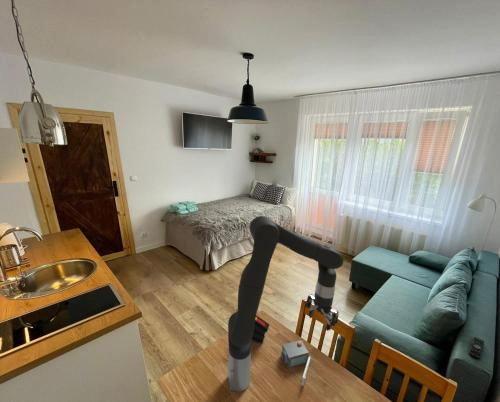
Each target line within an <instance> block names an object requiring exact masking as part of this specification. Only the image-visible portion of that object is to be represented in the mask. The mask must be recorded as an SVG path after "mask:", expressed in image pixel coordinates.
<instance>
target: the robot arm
mask: <svg viewBox="0 0 500 402" xmlns="http://www.w3.org/2000/svg"><path fill="white" fill-rule="evenodd" d="M249 232H250V235H251V236H252V239H253V247H252V252H251V257H250V259H249V261H248V263H247V264H246V265H245V267H244V269H243V270H242V272H241V275H240V279H239V284H238V290H237V311H235V312H233V313H232V314H231V315H230V317H229V318H228V322H227V333H228V334H227V337H228V340H227V341H228V360H227V380H228V384H229V385H228V386H229V389H230V391H235V392H238V393H240V392H243V391H246V390H247V389H248V388H249V386H250V384H251V365H252V364H251V360H252V357H251V356H252V340H251V339H252V337H253V333H254V325H255V318H256V315H257V314H258V310H259V308H260V307H259V305H260V302H261V299H262V296H263V291H264V288H265V285H266V280H267V276H268V272H269V268H270V263H271V260H272V258H273V256H274V255H273V254H274V253H275V249H276V248H277V244H280V245H282V246H284V247H286V248H287V249H289V250H291V251H292V252H294V253H296V254H298V255H300V256H303V257H305V258H307V259H310V260H313V261H315V262H316V263H317V267H318V273H317V274H318V275H317V279H316V280H317V281H316V284H315V291H314V294H313V293H310V295H308V296H307V298H306V303H305V306H306V308H308V313H309V314H308V317H309V318H310V319H312V318H313V317H314V315H315V310H316V311H317V312H319V313H320V314H321V315H323V318H324V320H326V322H327V323H326V327H325V330H326V331H327V332H329V331H330V330H332V327H335V326H336V325H337V324H338V321H339V310H334V309H333V308H332V306H333V302H334V297H335V291H336V281H337V272H336V270H337V269H340V268H341V267H342V266H343V265H344V257H343V255H342V254H341V253H340V252H339V251H338V250H337V249H336V248H334V246H332V245H329V244H324V245H322V244H321V243H320V242H319V241H315V240H313V239H312V238H311V239H310V238H309V237H305V236H303V235H301V234H298V233H296V232H294V231H291V230H290V229H287V228H285V227H284V226H281V225H280V224H278V223H276V222H275V221H274V220H272V219H271V218H270V217H267V216H264V215H260V216H256V217H255V218H253V219H252V220H251V221H250V224H249ZM312 302H313V303H312ZM312 304H313V305H312Z"/></svg>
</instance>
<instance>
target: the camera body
mask: <svg viewBox="0 0 500 402" xmlns="http://www.w3.org/2000/svg"><path fill="white" fill-rule="evenodd" d="M281 348H282V349H281V352H280V358H281V360H282V362H283V363H284V364H285V365H286V366H287V368H292V367H293V368H294V367H297V366H300V365H302V364H307V362H308V358H309V351H308V349H307V347H306V346H305V344H304V342H303V340H302V339H300V340H296V341H291V342H287V343H284V344H282V347H281Z"/></svg>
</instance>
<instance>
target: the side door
mask: <svg viewBox="0 0 500 402" xmlns="http://www.w3.org/2000/svg"><path fill="white" fill-rule="evenodd" d="M311 361H312V355H311V354H308V361H307V363H306V365H305V368H304V372H303V374H302V380H301V386H304V385H306V379H307V375H308V372H309V367H310V365H311Z"/></svg>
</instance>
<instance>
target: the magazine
mask: <svg viewBox="0 0 500 402" xmlns="http://www.w3.org/2000/svg"><path fill="white" fill-rule="evenodd" d="M269 327H270V323H268V322H267V321H266V320H264V319H263V318H261V317H259V316H258V315H257V314H256V318H255V325H254V333H253V337H252V339H251V342H252V341H253V342H255V343H259V344H260V345H262V344H263V343H264V340H265V338H266V333H267V332H268V330H269Z"/></svg>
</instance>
